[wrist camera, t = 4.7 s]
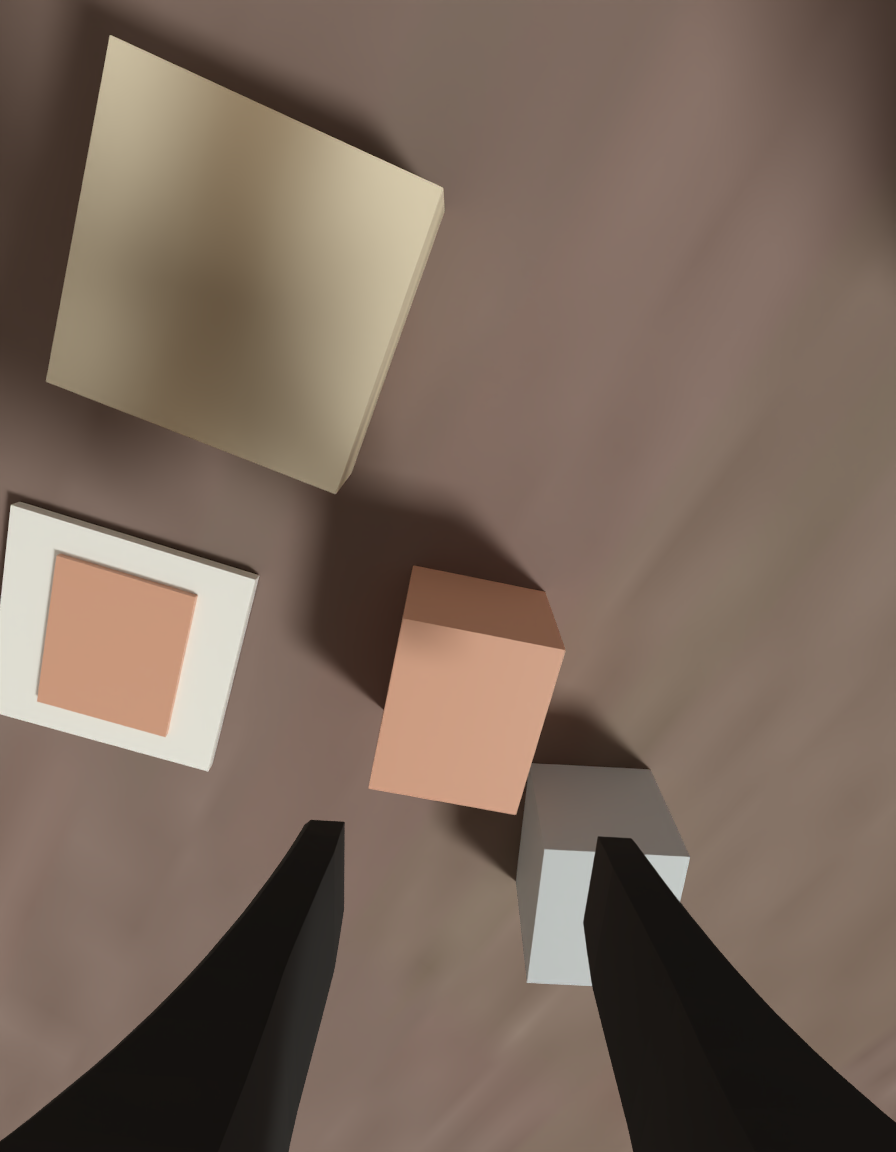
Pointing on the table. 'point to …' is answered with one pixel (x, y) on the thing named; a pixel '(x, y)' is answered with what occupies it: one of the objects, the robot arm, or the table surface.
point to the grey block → (582, 856)
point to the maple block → (236, 271)
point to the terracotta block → (467, 691)
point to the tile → (118, 636)
